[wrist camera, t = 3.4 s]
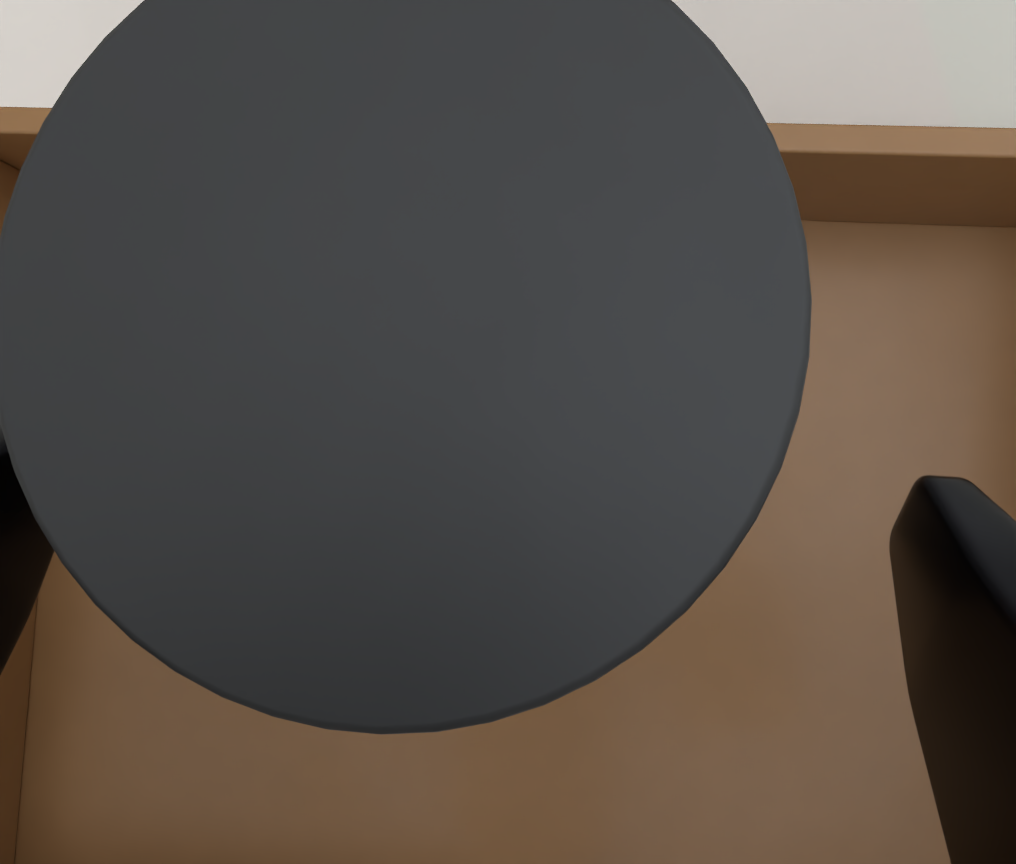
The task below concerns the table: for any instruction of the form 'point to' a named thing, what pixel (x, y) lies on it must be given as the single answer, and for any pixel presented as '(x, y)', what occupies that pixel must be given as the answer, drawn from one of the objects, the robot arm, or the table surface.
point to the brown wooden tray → (651, 672)
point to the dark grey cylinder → (401, 343)
